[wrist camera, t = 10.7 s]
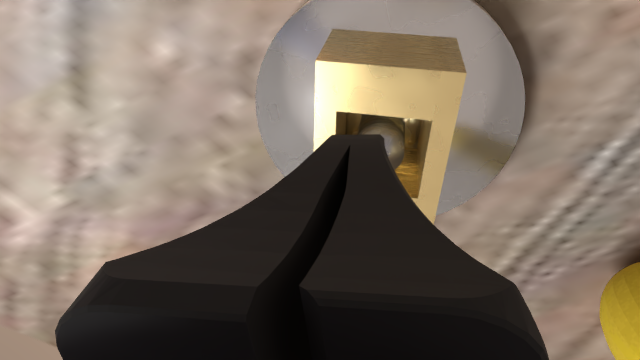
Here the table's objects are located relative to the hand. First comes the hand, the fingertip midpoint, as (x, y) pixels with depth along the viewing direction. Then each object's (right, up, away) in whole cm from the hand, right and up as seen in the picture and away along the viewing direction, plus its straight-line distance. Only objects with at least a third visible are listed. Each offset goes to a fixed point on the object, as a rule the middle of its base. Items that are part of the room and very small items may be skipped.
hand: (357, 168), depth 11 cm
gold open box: (+2, +3, +9) cm, 9 cm away
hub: (+2, +3, +10) cm, 10 cm away
